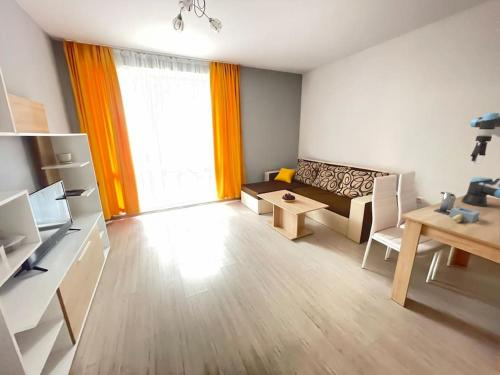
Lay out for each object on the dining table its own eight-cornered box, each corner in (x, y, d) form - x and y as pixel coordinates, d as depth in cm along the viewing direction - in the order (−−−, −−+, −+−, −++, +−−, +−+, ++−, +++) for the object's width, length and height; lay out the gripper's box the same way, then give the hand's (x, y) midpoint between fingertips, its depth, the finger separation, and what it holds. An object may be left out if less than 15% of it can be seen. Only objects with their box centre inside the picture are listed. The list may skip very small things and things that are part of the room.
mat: (438, 209, 163) (438, 208, 163) (451, 212, 157) (451, 212, 157) (433, 211, 160) (433, 210, 160) (446, 214, 153) (447, 214, 153)
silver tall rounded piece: (437, 209, 162) (442, 191, 158) (449, 212, 156) (455, 193, 152) (434, 209, 161) (439, 191, 156) (447, 213, 154) (453, 194, 150)
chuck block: (455, 213, 156) (457, 206, 154) (477, 219, 146) (480, 211, 144) (443, 219, 145) (445, 211, 144) (466, 226, 135) (468, 218, 133)
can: (448, 207, 168) (453, 193, 165) (454, 210, 161) (459, 196, 158) (437, 206, 171) (441, 192, 167) (443, 209, 164) (447, 195, 160)
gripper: (482, 135, 156) (473, 162, 162) (471, 135, 144) (462, 165, 150) (497, 135, 149) (487, 164, 155) (486, 136, 138) (476, 166, 144)
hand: (475, 164), depth 153 cm, fingers open, 13 cm apart
